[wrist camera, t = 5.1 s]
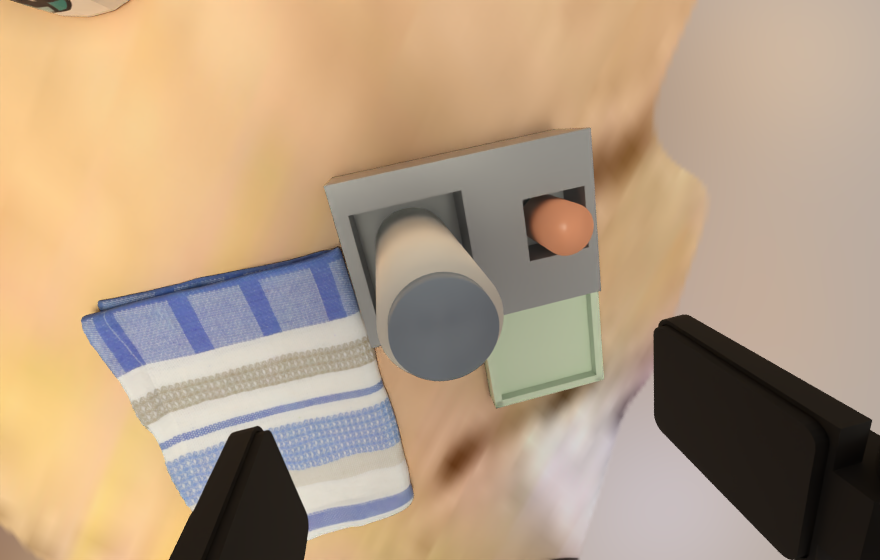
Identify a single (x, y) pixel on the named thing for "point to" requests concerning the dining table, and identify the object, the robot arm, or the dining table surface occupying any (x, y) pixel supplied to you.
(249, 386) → the dish towel
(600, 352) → the tray
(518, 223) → the housing
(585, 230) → the plunger
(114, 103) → the dining table surface
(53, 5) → the mug
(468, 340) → the cylinder
